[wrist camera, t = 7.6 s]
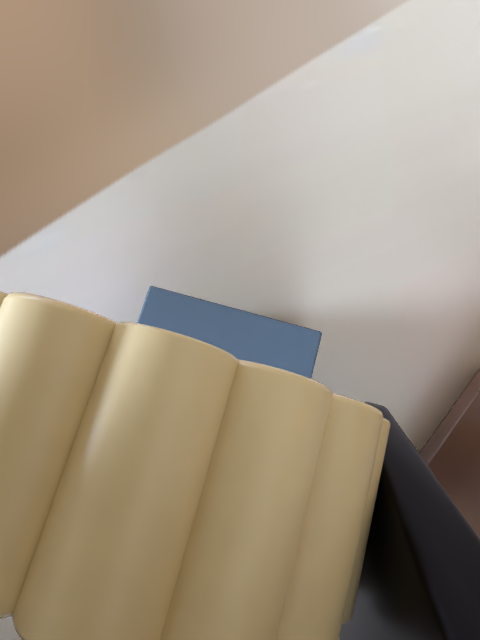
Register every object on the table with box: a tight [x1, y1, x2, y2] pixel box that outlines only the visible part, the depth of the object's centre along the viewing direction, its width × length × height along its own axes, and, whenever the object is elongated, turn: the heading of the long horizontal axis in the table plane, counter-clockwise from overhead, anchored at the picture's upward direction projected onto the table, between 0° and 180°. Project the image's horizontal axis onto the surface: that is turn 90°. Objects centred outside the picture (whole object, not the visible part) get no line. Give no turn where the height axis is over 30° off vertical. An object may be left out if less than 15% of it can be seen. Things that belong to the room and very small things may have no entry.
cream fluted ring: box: [0, 292, 390, 640], centre depth 7 cm, size 3×7×7 cm, turn 74°
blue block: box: [137, 286, 322, 379], centre depth 18 cm, size 6×6×6 cm
